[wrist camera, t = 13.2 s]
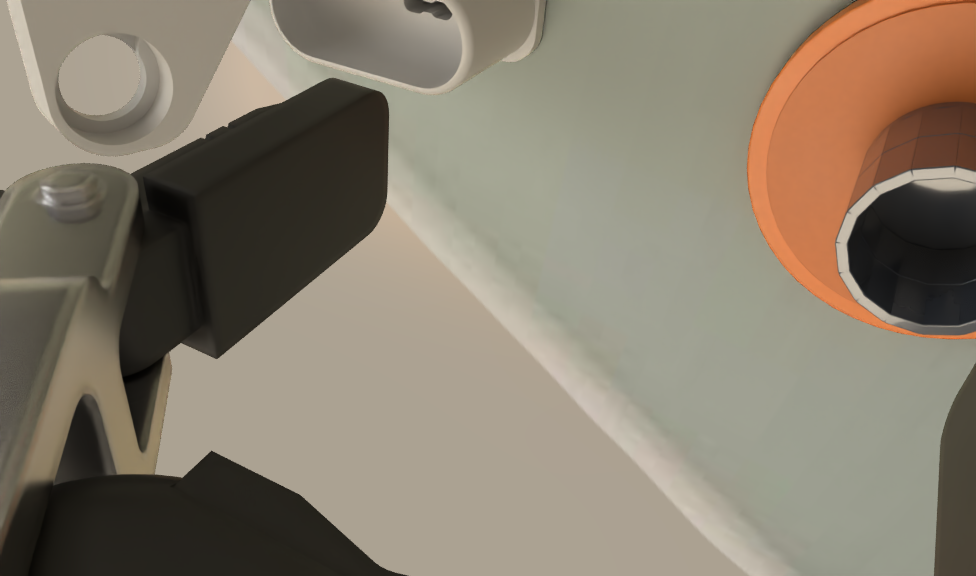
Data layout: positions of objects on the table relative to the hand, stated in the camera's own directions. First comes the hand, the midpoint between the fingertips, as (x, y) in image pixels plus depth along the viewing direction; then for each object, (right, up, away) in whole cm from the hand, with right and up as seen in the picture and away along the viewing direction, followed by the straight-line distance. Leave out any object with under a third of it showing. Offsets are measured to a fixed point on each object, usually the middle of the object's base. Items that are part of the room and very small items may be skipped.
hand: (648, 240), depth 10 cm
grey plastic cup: (+15, +3, +19) cm, 24 cm away
